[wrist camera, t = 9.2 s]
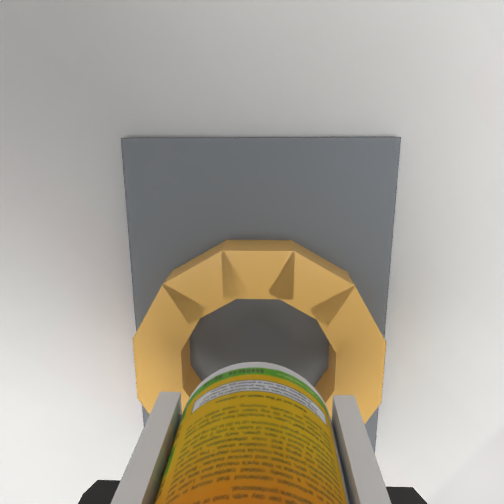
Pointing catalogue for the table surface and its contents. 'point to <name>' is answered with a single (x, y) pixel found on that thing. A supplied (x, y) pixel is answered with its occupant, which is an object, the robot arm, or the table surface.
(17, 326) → the table surface
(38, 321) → the table surface
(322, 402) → the supplement bottle
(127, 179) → the slate mat
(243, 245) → the golden tan faceted ring
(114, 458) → the table surface
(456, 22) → the table surface
